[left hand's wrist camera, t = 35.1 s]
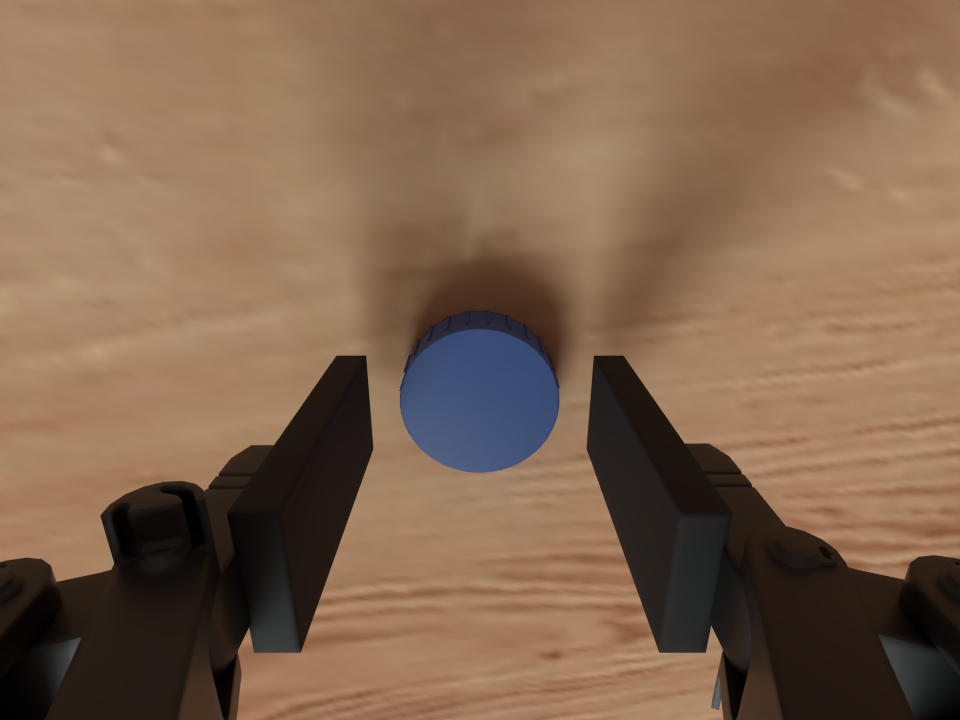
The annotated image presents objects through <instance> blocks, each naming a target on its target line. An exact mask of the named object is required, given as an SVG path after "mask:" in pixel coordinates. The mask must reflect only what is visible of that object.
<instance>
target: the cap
mask: <svg viewBox="0 0 960 720" xmlns="http://www.w3.org/2000/svg"><path fill="white" fill-rule="evenodd" d="M554 370H555V368H554V365H553V362H552V360H551V357H550V354H549V353H547V352H546V350H545V348H544V347H543V345H542V341H541V339H540V337H538V338H537V337H536V336H535V335H534V334H533V333H532V332H531V331H530V330H529V329H528V328H527V325H526V324H524V325H523V324H521V323H519V322H518V321H516V320H514V319H512V318H510V316H509V315H506V316H504V315H501V314H497V313H492V312H490V310H487V312H479V311H478V312H470V311H466V313H462V314H458V315H455V316H452V317H450V316H447V319H445V320H443V321H441V322H440V323H438V324H437V325H435V326H434V327H433V326H431V327H430V329H429V331H428V332H427V333H426V334H425V335H424V336H423V337H422V338H421V340H419V339H418V340H417V342H416V345H415V348H414V351H413V353H412V355H411V356H410V355H409V357H408V360H407V363H406V366H405V369H404V373H405V375H404V378H403V381H402V384H401V387H400V391H401V393H400V408H401V414H402V418H403V421H404V424H405V426H406V428H407V431H408V433H409V434H410V436H411V437H412V439H413V440H414V442H415V443H416V444H417V445H418V446H419V448H420V449H422V450H423V451H424V452H425V453H426V454H427V455H428V456H430V457H431V458H433V459H434V460H436V461H438V462H439V463H441V464H443V465H446V466H448V467H451V468H454V469H457V470H461V471H467V472H480V473H481V472H493V471H498V470H502V469H505V468H509V467H511V466H514V465H516V464H518V463H520V462H522V461H523V460H525V459H527V458H528V457H529V456H531V455H532V454H533V453H535V452H536V451H537V450H538V449H539V448H540V447H541V446H542V444H543V443H544V442H545V440H546V439H547V438H548V436H549V435H550V433H551V431H552V429H553V427H554V424H555V422H556V419H557V415H558V409H559V391H558V389H559V384H558V381H557V378H556V375H555V372H554Z"/></svg>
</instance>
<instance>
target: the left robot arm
mask: <svg viewBox="0 0 960 720" xmlns="http://www.w3.org/2000/svg"><path fill="white" fill-rule="evenodd" d="M372 451H373V438H372V425H371V412H370V400H369V387H368V374H367V362H366V356H336V357H335V359H334V360H333V362H332V363H331V364H330V366H329V367H328V369H327V370H326V372H325V373H324V374H323V376H322V377H321V379H320V380H319V382H318V383H317V385H316V386H315V387H314V389H313V390H312V392H311V393H310V395H309V396H308V397H307V399H306V400H305V402H304V403H303V405H302V406H301V408H300V409H299V410H298V412H297V413H296V415H295V416H294V418H293V419H292V420H291V422H290V423H289V425H288V426H287V428H286V429H285V430H284V432H283V433H282V435H281V436H280V438H279V439H278V441H277V442H276V443H275V445H251V446H250V447H248V448H247V449H245V450H243V451H242V452H240V453H239V454H237V455H236V456H234V457H232V458H231V459H230V460H229V462H228V463H227V464H226V465H225V466H224V468H223V469H222V470H221V471H220V473H219V477H216V478H215V479H214V480H213V481H212V483H211V484H210V485H209V489H206V490H205V491H204V490H203V489H202V488H200V487H199V486H198V485H196V484H194V483H189V482H184V481H173V482H162V483H157V484H153V485H149V486H145V487H142V488H140V489H137V490H135V491H132V492H130V493H128V494H125V495H124V496H122V497H121V498H119V499H118V500H116V501H115V502H113V503H111V504H110V505H109V506H108V507H107V509H106V510H105V511H104V512H103V513H102V514H101V515H100V516H101V519H102V523H103V526H104V530H105V533H106V536H107V540H108V543H109V547H110V550H111V553H112V557H113V560H114V566H113V568H112V570H109V571H105V572H102V573H97V574H92V575H87V576H83V577H78V578H73V579H68V580H64V581H59V582H56V579H55V576H54V574H53V571H52V568H51V566H50V565H49V564H48V563H46V562H45V561H44V560H42V559H34V558H21V559H14V560H8V561H3V562H0V720H236V719H237V709H238V700H239V691H240V682H241V667H240V661H239V656H238V649H239V647H240V645H241V643H242V641H243V639H244V637H245V635H246V632H247V630H248V628H250V633H251V639H252V644H253V649H254V653H301V650H302V647H303V645H304V642H305V639H306V636H307V633H308V631H309V628H310V625H311V622H312V619H313V617H314V614H315V611H316V608H317V605H318V602H319V600H320V597H321V594H322V591H323V588H324V586H325V583H326V580H327V577H328V574H329V572H330V569H331V566H332V563H333V560H334V558H335V555H336V552H337V549H338V546H339V544H340V541H341V538H342V535H343V532H344V530H345V527H346V524H347V521H348V518H349V516H350V513H351V510H352V507H353V504H354V502H355V499H356V496H357V493H358V490H359V488H360V485H361V482H362V479H363V476H364V473H365V471H366V468H367V465H368V462H369V459H370V457H371V454H372ZM587 451H588V454H589V457H590V460H591V462H592V465H593V468H594V471H595V474H596V476H597V479H598V482H599V485H600V488H601V490H602V493H603V496H604V499H605V502H606V504H607V507H608V510H609V513H610V516H611V518H612V521H613V524H614V527H615V530H616V532H617V535H618V538H619V541H620V544H621V546H622V549H623V552H624V555H625V558H626V560H627V563H628V566H629V569H630V572H631V574H632V577H633V580H634V583H635V586H636V588H637V591H638V594H639V597H640V600H641V603H642V605H643V608H644V611H645V614H646V617H647V619H648V622H649V625H650V628H651V631H652V633H653V636H654V639H655V642H656V645H657V647H658V650H659V653H706V649H707V644H708V638H709V633H710V628H711V626H712V628H713V630H714V632H715V634H716V636H717V638H718V640H719V642H720V644H721V646H722V648H723V651H722V656H721V661H720V666H719V670H718V675H717V680H716V684H715V689H714V694H713V700H712V706H711V708H714V709H718V710H719V706H720V702H721V699H722V708H723V717H724V720H960V559H956V558H949V557H943V556H936V555H932V556H923V557H918V558H917V559H915V560H914V561H912V562H911V563H910V565H909V568H908V571H907V574H906V576H905V579H904V580H903V579H898V578H894V577H889V576H884V575H879V574H875V573H870V572H865V571H860V570H856V569H853V568H849V567H847V564H846V562H845V561H844V560H843V558H842V557H841V556H840V554H839V553H838V552H837V550H835V549H834V548H833V547H831V546H830V545H829V544H827V543H826V542H825V541H823V540H822V539H820V538H818V537H816V536H814V535H811V534H809V533H807V532H805V531H802V530H798V529H795V528H791V527H787V526H785V525H784V523H783V522H782V521H781V520H780V518H779V517H778V516H777V515H776V513H775V512H774V511H773V510H772V509H771V507H770V506H769V505H768V504H767V502H766V501H765V500H764V499H763V497H762V496H761V495H760V494H759V493H758V491H757V490H756V489H755V488H754V487H752V484H751V483H750V481H749V480H748V479H747V478H746V477H745V475H742V473H741V470H740V469H739V468H738V467H737V465H736V464H735V463H734V462H733V461H732V459H731V458H730V457H729V456H728V455H726V454H724V453H723V452H721V451H720V450H718V449H717V448H715V447H713V446H712V445H710V444H685V443H684V442H683V441H682V439H681V438H680V436H679V435H678V433H677V432H676V431H675V429H674V428H673V426H672V425H671V423H670V422H669V420H668V419H667V418H666V416H665V415H664V413H663V412H662V410H661V409H660V408H659V406H658V405H657V403H656V402H655V400H654V399H653V397H652V396H651V395H650V393H649V392H648V390H647V389H646V387H645V386H644V385H643V383H642V382H641V380H640V379H639V377H638V376H637V374H636V373H635V372H634V370H633V369H632V367H631V366H630V364H629V363H628V362H627V360H626V359H625V357H624V356H594V362H593V374H592V387H591V400H590V412H589V425H588V438H587Z"/></svg>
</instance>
